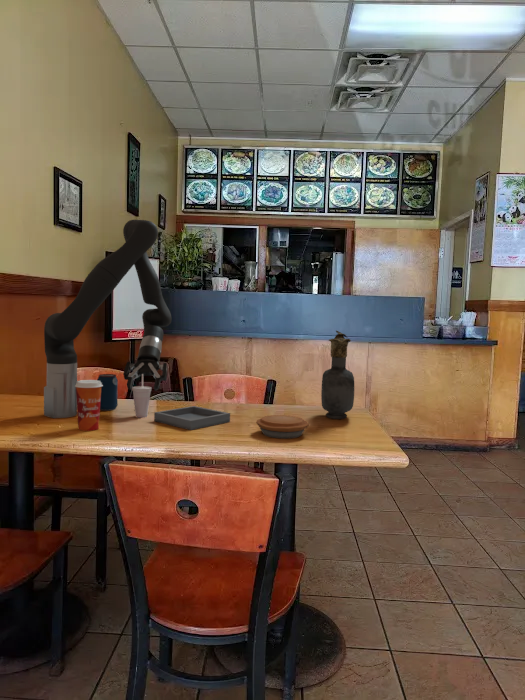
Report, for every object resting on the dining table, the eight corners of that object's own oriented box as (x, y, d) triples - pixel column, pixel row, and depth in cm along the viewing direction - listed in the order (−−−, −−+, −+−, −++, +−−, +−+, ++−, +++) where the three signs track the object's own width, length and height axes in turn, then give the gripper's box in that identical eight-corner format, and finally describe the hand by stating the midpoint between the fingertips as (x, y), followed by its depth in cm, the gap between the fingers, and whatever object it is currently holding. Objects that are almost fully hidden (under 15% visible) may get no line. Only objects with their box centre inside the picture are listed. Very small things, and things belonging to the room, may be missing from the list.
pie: (272, 426, 165) (272, 410, 165) (316, 433, 157) (317, 416, 157) (245, 435, 152) (246, 418, 151) (293, 443, 144) (293, 425, 143)
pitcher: (321, 420, 174) (325, 331, 172) (319, 410, 193) (322, 329, 191) (354, 422, 174) (358, 332, 171) (348, 411, 193) (352, 330, 190)
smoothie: (153, 414, 175) (154, 373, 174) (147, 418, 169) (148, 375, 168) (135, 413, 176) (135, 372, 175) (128, 417, 170) (129, 375, 169)
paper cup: (76, 432, 148) (76, 383, 147) (72, 426, 155) (73, 380, 154) (105, 430, 152) (105, 382, 150) (100, 425, 158) (100, 379, 157)
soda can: (121, 408, 184) (121, 374, 183) (106, 411, 178) (106, 376, 178) (107, 406, 188) (108, 373, 187) (92, 409, 182) (92, 374, 181)
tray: (190, 430, 155) (191, 420, 155) (154, 421, 166) (154, 412, 166) (229, 421, 168) (230, 413, 168) (193, 413, 179) (193, 405, 179)
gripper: (127, 344, 180) (118, 381, 170) (169, 345, 181) (162, 382, 170) (131, 357, 186) (122, 394, 176) (171, 358, 186) (165, 396, 176)
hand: (142, 388), depth 173 cm, fingers open, 8 cm apart
